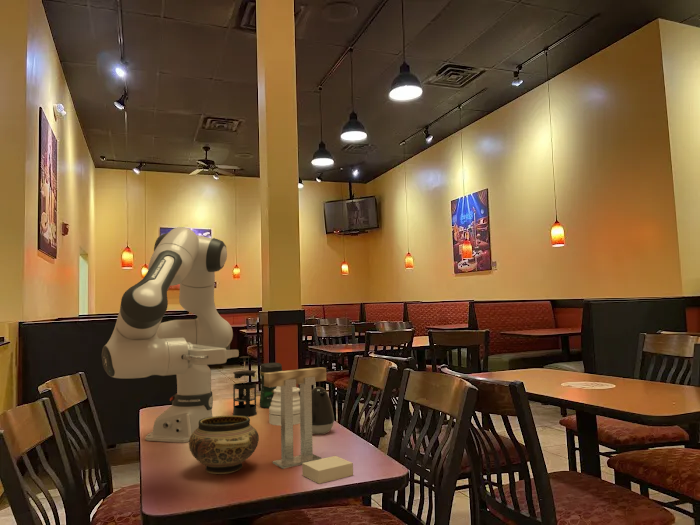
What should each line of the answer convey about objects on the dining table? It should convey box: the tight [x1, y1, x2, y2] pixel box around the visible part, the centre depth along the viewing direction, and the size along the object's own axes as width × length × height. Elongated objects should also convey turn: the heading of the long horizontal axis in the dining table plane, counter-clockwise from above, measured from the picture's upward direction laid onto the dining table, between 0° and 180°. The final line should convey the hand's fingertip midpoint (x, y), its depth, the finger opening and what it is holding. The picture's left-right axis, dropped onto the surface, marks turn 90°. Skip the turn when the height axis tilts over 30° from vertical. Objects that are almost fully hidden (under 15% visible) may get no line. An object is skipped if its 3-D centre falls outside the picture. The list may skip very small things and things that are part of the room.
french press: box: [232, 355, 257, 418], centre depth 208 cm, size 12×9×23 cm
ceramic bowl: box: [188, 414, 260, 475], centre depth 137 cm, size 24×18×15 cm
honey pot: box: [268, 386, 300, 427], centre depth 193 cm, size 13×13×18 cm
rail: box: [264, 366, 327, 387], centre depth 143 cm, size 18×3×4 cm, turn 125°
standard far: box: [293, 377, 323, 463], centre depth 144 cm, size 6×6×23 cm
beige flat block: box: [301, 455, 354, 485], centre depth 130 cm, size 10×8×3 cm
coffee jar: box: [259, 362, 283, 409], centre depth 223 cm, size 10×8×19 cm
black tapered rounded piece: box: [311, 386, 335, 435], centre depth 174 cm, size 10×10×15 cm
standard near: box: [272, 379, 303, 469], centre depth 141 cm, size 6×6×23 cm
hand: (230, 352), depth 133 cm, fingers open, 8 cm apart
